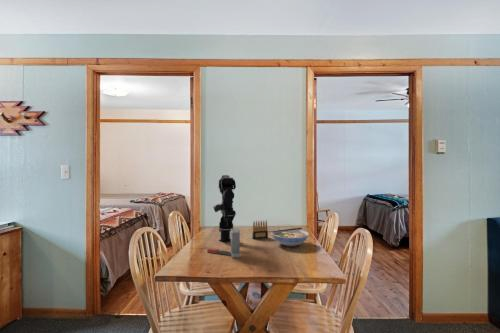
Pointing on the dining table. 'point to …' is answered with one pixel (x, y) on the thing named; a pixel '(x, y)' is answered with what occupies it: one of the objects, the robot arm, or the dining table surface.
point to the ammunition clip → (260, 230)
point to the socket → (235, 241)
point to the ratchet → (223, 252)
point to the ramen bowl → (290, 236)
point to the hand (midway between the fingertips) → (227, 225)
